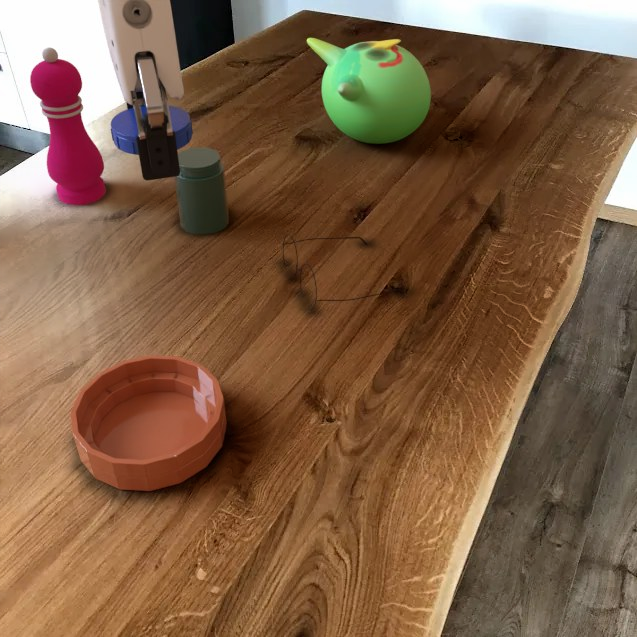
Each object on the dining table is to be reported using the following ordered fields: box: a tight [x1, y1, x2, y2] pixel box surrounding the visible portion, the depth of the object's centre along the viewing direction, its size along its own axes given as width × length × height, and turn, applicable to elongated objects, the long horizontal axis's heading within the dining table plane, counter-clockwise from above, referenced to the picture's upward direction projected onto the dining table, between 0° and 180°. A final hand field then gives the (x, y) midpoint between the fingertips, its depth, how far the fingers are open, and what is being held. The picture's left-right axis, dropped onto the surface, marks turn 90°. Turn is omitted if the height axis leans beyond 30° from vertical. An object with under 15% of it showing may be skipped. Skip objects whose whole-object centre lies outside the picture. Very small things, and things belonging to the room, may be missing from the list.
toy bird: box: [306, 37, 432, 145], centre depth 109 cm, size 18×17×15 cm
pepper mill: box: [29, 47, 107, 206], centre depth 93 cm, size 7×7×20 cm
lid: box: [110, 104, 194, 156], centre depth 64 cm, size 7×7×2 cm
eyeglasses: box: [281, 234, 405, 310], centre depth 83 cm, size 11×13×5 cm
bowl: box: [69, 354, 228, 492], centre depth 65 cm, size 13×13×4 cm
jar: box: [173, 146, 230, 235], centre depth 91 cm, size 6×6×9 cm
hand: (155, 156), depth 66 cm, fingers closed on lid, 6 cm apart
